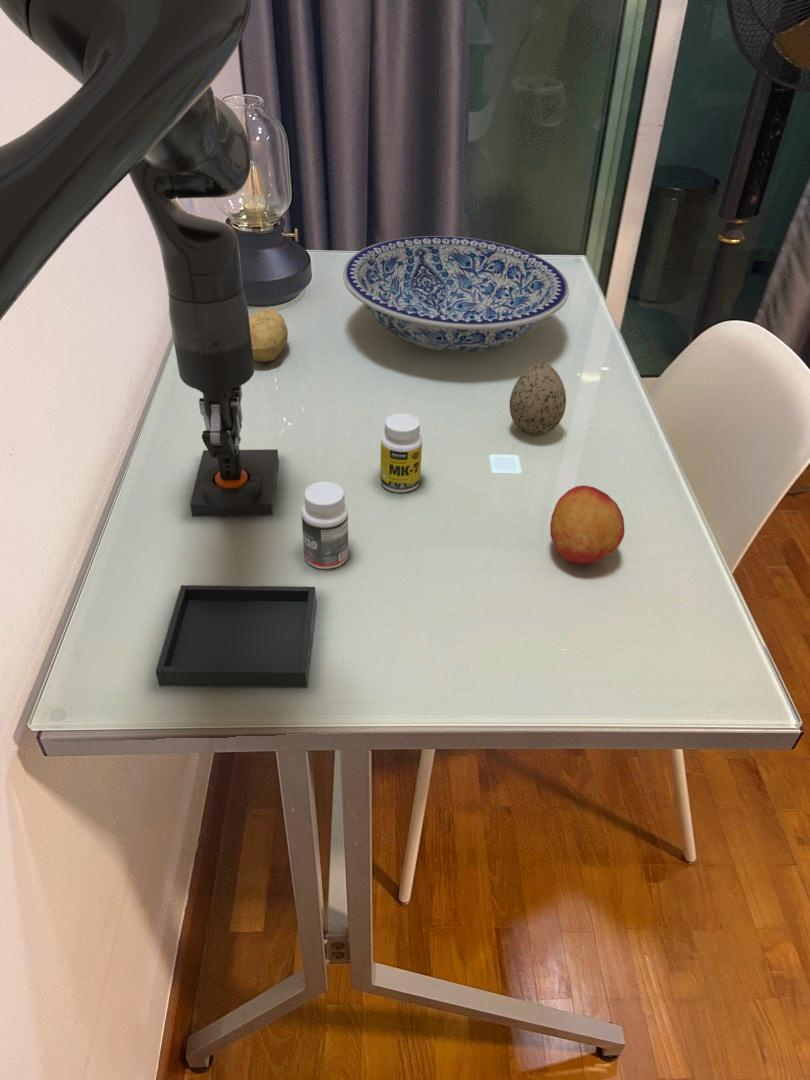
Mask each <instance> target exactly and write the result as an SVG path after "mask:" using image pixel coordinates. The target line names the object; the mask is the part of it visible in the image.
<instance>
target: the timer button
mask: <svg viewBox="0 0 810 1080" xmlns="http://www.w3.org/2000/svg"><path fill="white" fill-rule="evenodd" d="M215 482H216V486H218V487H221V488H223V489H235V488H238V487H241V486H244V485H245V484H246V483H247V482H248V476H247V473H246V471H244V470H243V469H242V472H241V478H240V479H239V480H222V479H221V476H220V471H219V472H218V473H217V474H216V476H215Z"/></svg>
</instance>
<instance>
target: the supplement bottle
mask: <svg viewBox="0 0 810 1080" xmlns="http://www.w3.org/2000/svg"><path fill="white" fill-rule="evenodd" d="M420 426H421V424H420V420H419V419H418V418H417V417H416V416H414V415H412V414H410V413H404V412H403V413H394V414H391V415H389V416H388V417H386V418H385V421H384V432H383V434H382V435H381V438H380V471H379V473H380V475H379V477H380V484H381V485H382V487H383V488H384V489H386V490H388V491H390V492H393V493H397V494H398V493H399V494H400V493H403V494H404V493H408V492H412V491H414V490H415V489H416V488H418V487H419V485H420V481H421V480H420V479H421V467H422V451H423V449H422V448H423V437H422V436H421V434H420V431H421V427H420Z"/></svg>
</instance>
